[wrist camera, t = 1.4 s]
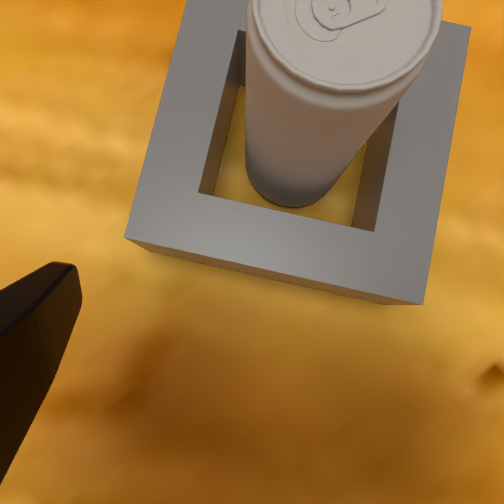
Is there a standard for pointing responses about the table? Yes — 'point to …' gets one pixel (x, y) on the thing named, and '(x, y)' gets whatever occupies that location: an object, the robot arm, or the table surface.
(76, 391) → the table surface
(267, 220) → the can holder
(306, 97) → the beverage can
